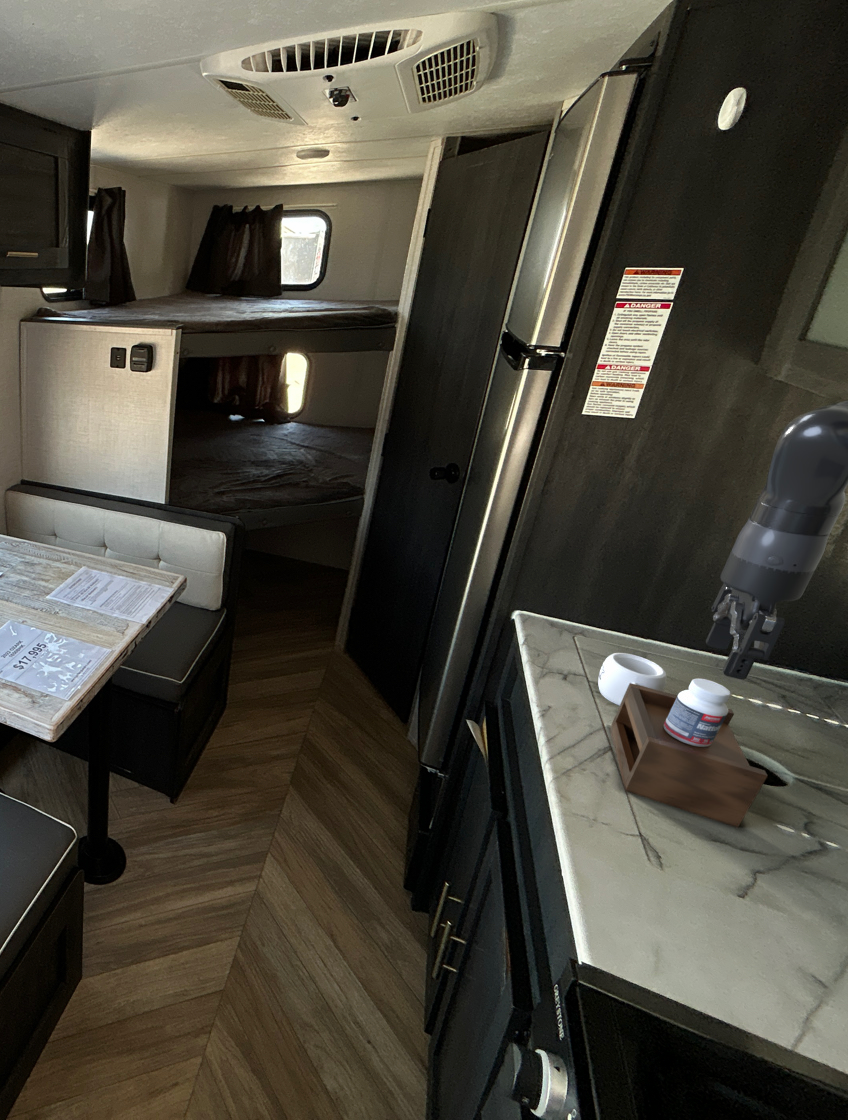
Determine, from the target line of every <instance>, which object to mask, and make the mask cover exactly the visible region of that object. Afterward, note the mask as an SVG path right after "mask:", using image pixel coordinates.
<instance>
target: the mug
mask: <svg viewBox="0 0 848 1120" xmlns="http://www.w3.org/2000/svg"><path fill="white" fill-rule="evenodd" d="M667 679H668V677H667V672H666V670H665V669H664V668H663V667H662V666H661V665H659V664H658V663H656V662H654V661H652V660H649V659H647V658H645V657H642V656H639V655H635V654H632V653H627V652H626V653H625V652H615V653H611V654H610V655H608V656H607V657H606V658H605V660H604V661H603V663H602V665H601V667H600V670H599V673H598V679H597V680H598V681H597V682H598V690H599V692H600V694H601V696H602V697H604V698H605V699H606V700H607V701H609V702H610V703H612V704H615V705H617V706H620V704H621V702H622V699H623V697H624V695H625V692H626V690H627V688H628V686H629V683H632V684H636V685H640V686H643V687H647V688H651V689H655V690H659V691H662V692H664V690H665V688H666V685H667Z"/></svg>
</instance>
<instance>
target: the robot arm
mask: <svg viewBox="0 0 848 1120" xmlns="http://www.w3.org/2000/svg"><path fill="white" fill-rule="evenodd" d="M847 487H848V399H847V400H843V401H839V402H835V403H831V404H827V405H823V406H820V407H816V408H813V409H812V410H809V411H806V412H804V413H802V414H800V415H798V416H796V417H795V418H794V419H792V420H791V421H790V422H789V423H787V425H786V426H785V427H784V429H783V430H782V432H781V434H780V436H779V438H778V440H777V441H776V444H775V447H774V450H773V453H772V456H771V460H770V465H769V468H768V472H767V476H766V482H765V485H764V486H763V488H762V490H761V492H760V493H759V495H758V497H757V499H756V501H755V504H754V506H753V508H752V510H751V513H750V515H749V517H748V519H747V521H746V522H745V524H744V525H743V527H742V529H741V530H740V531H739V533H738V535H737V537H736V540H735V542H734V544H733V547H732V549H731V551H730V553H729V555H728V557H727V560H726V562H725V565H724V567H723V569H722V571H721V573H720V576H719V577H720V581H721V582H722V585H721V587H720V589H719V591H718V594H717V596H716V598H715V600H714V602H713V604H712V606H711V608H710V609H711V612H712V613H714V614H713V616H712V618H713V619H712V620H713V621H714V622H713V624H712V627H711V628H710V630H709V632H708V635H707V637H706V640H705V643H706V646H708V647H710V648H714V649H717V650H727V649H728V648H729V646H730V644H731V642H732V640H733V644H732V648H731V650H730V652H729V654H728V657H727V659H726V661H725V663H724V666H722V673H723V675H724V676H726V677H729V678H734V679H736V680H737V679H738V680H745V679H747V678H748V675H749V673H750V672H751V670H752V668H753V666H754V663H755V662H756V660H757V659H758V660H759V659H760V660H764V661H767V660H769V659H770V656H771V655H772V652H773V650H774V647H775V645H776V643H777V641H778V639H779V636H780V634H781V633H782V630H783V628H784V626H785V624H786V620H785V618H784V617H778V616H777V614H778V613H777V612H778V611H777V609H776V608H777V604H778V603H781V602H794V601H797V600H799V599H800V598H802V596H803V594H804V592H805V591H806V589H807V587H808V584H809V583H810V580H811V579H812V577H813V575H814V573H815V571H816V569H817V567H818V565H819V563H820V561H821V559H822V557H823V555H824V552H825V550H826V547H827V543H828V539H829V537H830V534H831V532H832V530H833V529H834V526H835V525H836V522H837V520H838V518H839V516H840V514H841V513H842V511H843V508H844V505H845V501H846V493H845V491H846V488H847ZM753 642H754V643H753ZM752 644H753V646H752Z"/></svg>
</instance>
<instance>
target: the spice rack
mask: <svg viewBox="0 0 848 1120" xmlns="http://www.w3.org/2000/svg"><path fill="white" fill-rule="evenodd" d="M677 696H678V694H674V693H670V692H666V691H663V692H662V691H659V690H655V689H651V688H647V687H643V686H640V685H636V684H632V683H629V686H628V688H627V690H626V692H625V695H624V697H623V699H622V702H621V704H620V706H619V705H618V706H619V707H618V709H617V711H616V713H615V716H614V717H613V720H612V722H611V725H610V727H609V732H610V736H611V740H612V744H613V748H614V751H615V755H616V759H617V762H618V767H619V771H620V775H621V779H622V782H623V787H624V790H625V792H628V793H631V794H634V795H637V796H640V797H643V798H646V799H649V800H652V801H655V802H658V803H661V804H665V805H667V806H670V807H674V808H677V809H679V810H683V811H685V812H689V813H692V814H694V815H698V816H700V817H703V818H706V819H710V820H712V821H716V822H719V823H722V824H724V825H728V826H732V827H734V828H736V829H738V828H739V826H740V825H741V823H742V822H743V820H744V818H745V816H746V815H747V813H748V811H749V809H750V807H751V806H752V804H753V802H754V801H755V799H756V797H757V795H759V792H760V790H761V789H762V787H763V785H764V783H765V781H766V780H767V779H768V774H767V772H766V770H765V769H762V768H758V767H754V766H751V765H750V763H749V761H748V760H747V757H746V756H745V754H744V752H743V750H742V748H741V746H740V744H739V741H738V740H737V738H736V736H735V734H734V732H733V730H732V728H731V726H730V723H731V721H732V719H733V717H734V715H735V713H734V711H733V710H732V709H731V708H728V713H727V716H726V717H725V719H724V721H723V723H722V725H721V727H720V729H719V731H718V733H717V734H716V736H715V738H714V740H713V742H712V744H711V745H710V746H707V747H697V746H692V745H689V744H686V743H683V742H681V741H679V740H677V739H675V738H674V737H672V736H671V735H669V734H668V733H667V732H666V731H665V729H664V723H665V721H666V718H667V717H668V715H669V713H670V710H671V708H672V706H673V704H674V702H675V700H676V698H677Z"/></svg>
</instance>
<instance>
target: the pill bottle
mask: <svg viewBox="0 0 848 1120" xmlns="http://www.w3.org/2000/svg"><path fill="white" fill-rule="evenodd" d="M677 695H678V696H677V698H676V700H675V702H674V704H673V706H672V708H671V710H670V713H669V715H668V717H667V718H666V721H665V723H664V729H665V731H666V732H667V733H668V734H669V735H671V736H672V737H674V738H675V739H677V740H679V741H681V742H683V743H686V744H689V745H692V746H697V747H707V746H710V745H711V744H712V742H713V740H714V738H715V736H716V734H717V733H718V731H719V729H720V727H721V725H722V723H723V721H724V719H725V717H726V716H727V713H728V709H729V708H728V706H727V704H726V703H727V702H728V700H729V698H730V696H731V691H730V690H729V689H728V688H727V687H726V686H725V685H722V684H720V683H718V682H715V681H713V680H709V679H706V678H700V677H699V678H693V679H691V682H690V684H689V685H688V689H685V690H682V691H680V692H679V693H678V694H677Z"/></svg>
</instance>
